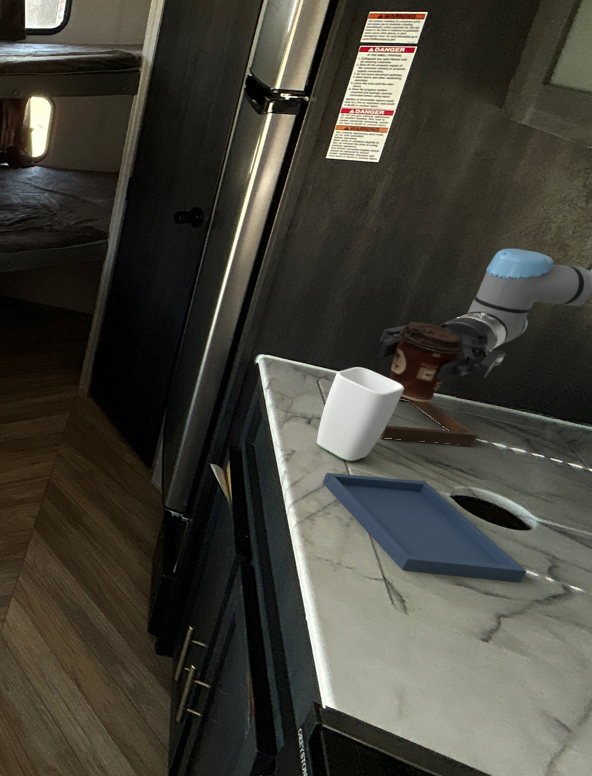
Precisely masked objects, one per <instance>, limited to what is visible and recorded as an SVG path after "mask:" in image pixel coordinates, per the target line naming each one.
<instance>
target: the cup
mask: <svg viewBox="0 0 592 776" xmlns="http://www.w3.org/2000/svg"><path fill="white" fill-rule="evenodd" d="M389 378H390V377H386V376H384V375H382V374H381V373H377V372H375V371H373V370H371V369H368V368H365V367H361V366H355V367H350V368H346V369H344V370H340V371H338V372H336V375H335V377H334V379H333V381H332V384H331V387H330V390H329V393H328V395H327V397H326V401H325V404H324V408H323V411H322V414H321V418H320V422H319V427H318V432H317V437H316V443H317V445H318V446H320V448H321V449H323V450H325V451H327V452H328V451H329V453H330V454H332V455H334V456H335V457H337V458H339V459H340V460H343V461H347V462H351V461H354V462H355V461H356V460H360V459H362V458H365V457H367V456H368V455H369V454H370V452H371V451H372V450H373V448H374V447H375V446H376V444H377V442H378V440H380V436H381V434H382V433H383V431H384V429H385V427H386V425H388V423H389V422H390V420H391V418H392V416H393V414H394V412H395V410H396V408H397V406H398V404H399V402H400V401H399V399H400V397H401V395H402V392H403V390H404V387H403V386H402V385H401V384H400V383H398V382H396V381H393V380H391V379H389Z"/></svg>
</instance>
